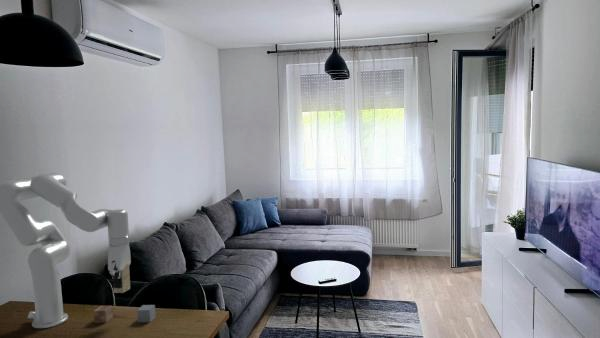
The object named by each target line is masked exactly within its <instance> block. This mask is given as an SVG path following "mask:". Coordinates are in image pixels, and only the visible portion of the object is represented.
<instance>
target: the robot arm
mask: <svg viewBox="0 0 600 338" xmlns="http://www.w3.org/2000/svg"><path fill="white" fill-rule="evenodd" d="M77 196H78V194H77V192H76V191H75V190H74V189H72V188H70V187H68V186H67V180H66V178H65V177H64V176H63V175H61V173H57V172H50V173H49V172H48V173H43V174H42V173H41V174H38V175H36V176H33V177H26V178H25V177H24V178H18V179H12V180H11V179H10V180H6V181H4V182H1V183H0V216H1V217H2V218H3V219H4V221H5V222H6V224H7V226H8V227H9V229H10V230H11V232H12V233H13V235H14V236H15V238H16V240H17V241H18V242H19V243H20V244H21V245H22V246H24V247H32V246H36V245H38V244H40V245H39V246H37V247H36V248H34V249H32V250H31V252H30V253H29V254H28V256H27V265H28V267H29V271H30V274H31V279H32V280H31V281H32V289H33V299H34V310H35V311H33V310H32V311H29V313H28V315H27V318H28V319H33V321H32V323H31V326H32V327H33V328H34V329H47V328H52V327H55V326H58V325H61V324H62V323H65V322H66V321H67V320H68V319H69V315H68V313H66V312H64V306H63V305H64V304H63V303H64V302H63V295H62V284H61V282H62V281H61V275H60V272H59V270H58V269H57V266H56V265H58V264H60V263H62V262H64V261H66V260H67V259H68V258H69V257H70V254H71V247H70V246H69V245H70V244H69V243H68V241H67V240H66V239H65V237H64V236H63V234H62V233H61V231H60V230H59V227H58V226H57V225H56V224H55V222H53V221H52V220H50V219H48V218H39V219H35V218H34V216H33V215H32V214H31V212H30V210H29V209H28V208H27V207H25V205H23V204H21V203H20V201H23V200H27V199H28V200H29V199H33V198H38V197H40V198H42V199H43V200H45V201H47V202H48V203H50V204H51V205H53V206H55V207H56V208H58V209H59V210H61V213H62V215H63V217H64V218H65V219H66V221H68V222H69V223H71V224H72V225H73V226H74V227H76V228H78V229H80V230H82V231H84V232H87V233H94V232H97V231H99V230H102V229H104V228H107V235H108V236H107V237H108V251H107V269H108V271H109V275H110V276H111V277H112V278H111V279H112V282H113V285H114V287H113V289H114V288H122V278H120V277H121V270H122V269H124V268H125V266H126V264H127V263H129V268H131V266H130V265H131V263H132V260H131V259H132V257H131V249H130V234H129V233H130V232H129V231H130V230H129V216H128V211H127V210H126V209H122V208H121V209H120V208H119V209H107V208H99V209H96V210H93V211H89V210H87V209H85V208H83V207H82V206H80V204H79V203H78V202H77V201H76V200H77V198H78V197H77ZM115 269H118V270H115ZM116 272H118V274H117V273H116ZM129 272H130V269H129Z"/></svg>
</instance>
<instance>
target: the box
mask: <svg viewBox="0 0 600 338" xmlns="http://www.w3.org/2000/svg"><path fill="white" fill-rule="evenodd" d="M115 270H118V269H115ZM129 270H130V267H129V263H127V264H126V266H125V268H124V269H122V270H121V277H120V278H122V288H114V285H113V293H115V294H118V293H120V294H124V293H126V292H127V291H129V290H130V289H131V280H130V279H131V277H130V271H129ZM116 273H117V274H118V272H116Z"/></svg>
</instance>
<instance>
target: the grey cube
mask: <svg viewBox="0 0 600 338" xmlns="http://www.w3.org/2000/svg"><path fill="white" fill-rule="evenodd" d="M156 316H157V315H156V305H155V304H142V305H141V306H140V307H139V308H138V309H137V323H151V322H152V321H153V320H154V319H155V318H156Z"/></svg>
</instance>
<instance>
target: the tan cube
mask: <svg viewBox="0 0 600 338" xmlns="http://www.w3.org/2000/svg"><path fill="white" fill-rule="evenodd" d="M113 318H114V312H113V305H100V306H99V307H97V308H96V309H94V310H93V320H94V323H95V324H104V323H105V324H107V323H108V322H110V321H111V320H112V319H113Z"/></svg>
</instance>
